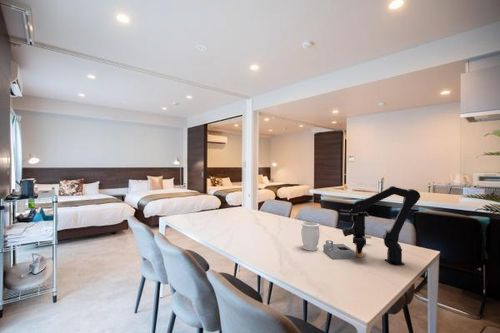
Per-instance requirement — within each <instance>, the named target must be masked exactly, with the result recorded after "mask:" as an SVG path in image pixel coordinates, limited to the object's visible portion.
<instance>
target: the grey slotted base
mask: <svg viewBox="0 0 500 333" xmlns="http://www.w3.org/2000/svg"><path fill="white" fill-rule="evenodd" d="M323 252H324V253H325V254H326V255H327V256H328V257H330V259H332V260H345V259H349V260H350V259H351V260H353V259H355V250H354V249H352V248H350V247H349V246H347V245H345V244H344V243H334V241H333V240H329V239H328V240H325V243H324V244H323Z"/></svg>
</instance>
